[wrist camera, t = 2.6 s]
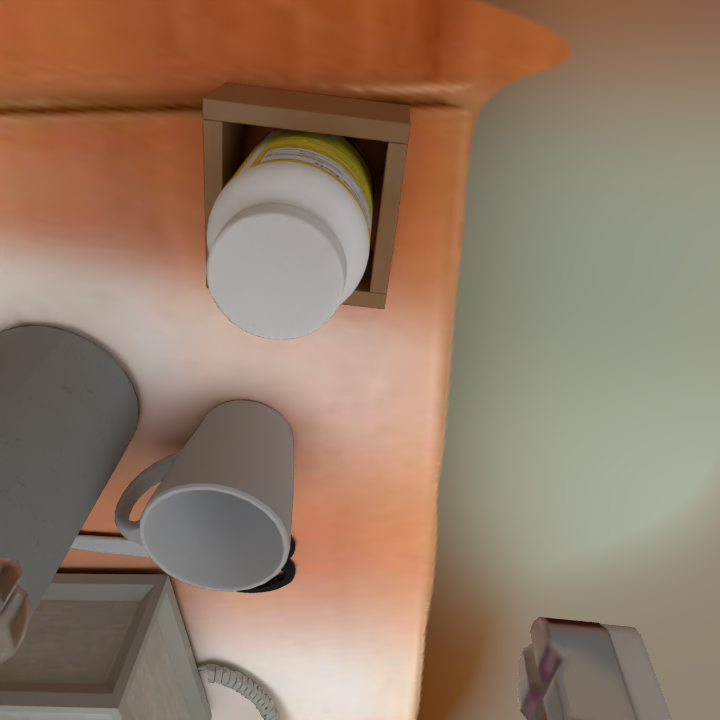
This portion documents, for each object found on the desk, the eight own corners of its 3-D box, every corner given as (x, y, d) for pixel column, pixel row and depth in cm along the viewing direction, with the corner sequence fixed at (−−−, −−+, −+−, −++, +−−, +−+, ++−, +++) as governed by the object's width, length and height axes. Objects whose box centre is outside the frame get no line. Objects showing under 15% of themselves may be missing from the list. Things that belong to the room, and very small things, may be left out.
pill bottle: (291, 265, 33) (249, 385, 24) (222, 159, 30) (143, 246, 21) (398, 210, 31) (398, 316, 22) (334, 91, 29) (302, 154, 19)
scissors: (22, 567, 47) (296, 587, 46) (16, 577, 46) (294, 597, 46) (0, 499, 43) (295, 519, 43) (-7, 508, 42) (294, 529, 42)
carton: (225, 82, 29) (201, 98, 25) (409, 104, 29) (410, 123, 25) (226, 255, 33) (206, 288, 30) (386, 274, 33) (384, 309, 30)
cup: (320, 477, 41) (303, 588, 33) (171, 490, 42) (123, 599, 35) (295, 377, 37) (269, 479, 29) (131, 395, 38) (68, 496, 31)
